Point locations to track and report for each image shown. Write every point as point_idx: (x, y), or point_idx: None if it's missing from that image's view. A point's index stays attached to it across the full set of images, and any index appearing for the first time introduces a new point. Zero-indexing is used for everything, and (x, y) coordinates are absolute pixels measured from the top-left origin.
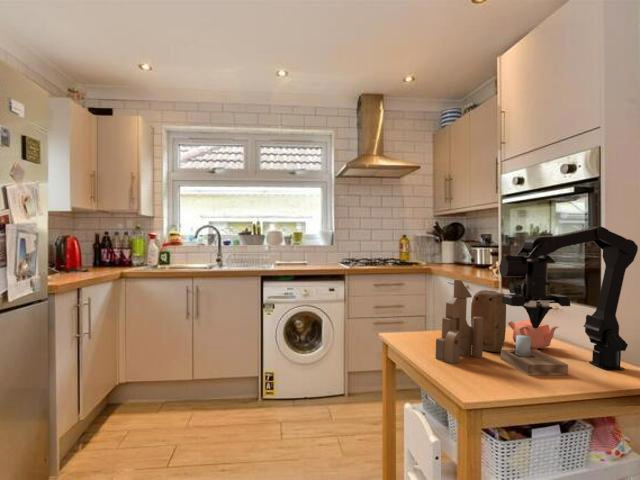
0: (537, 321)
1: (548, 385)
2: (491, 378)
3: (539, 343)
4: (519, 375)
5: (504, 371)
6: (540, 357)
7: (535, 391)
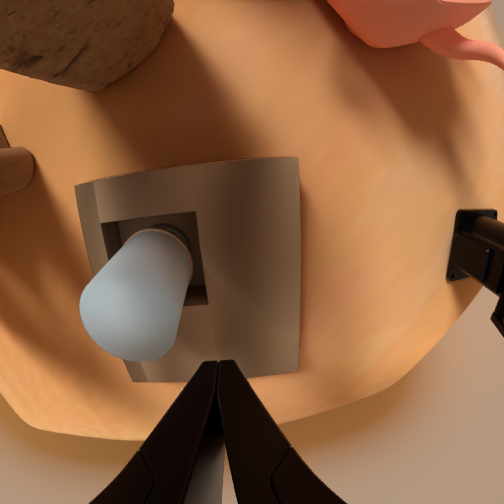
0: (219, 466)
1: None
2: (46, 368)
3: (384, 44)
4: (114, 357)
5: (77, 327)
6: (231, 302)
7: (130, 427)
